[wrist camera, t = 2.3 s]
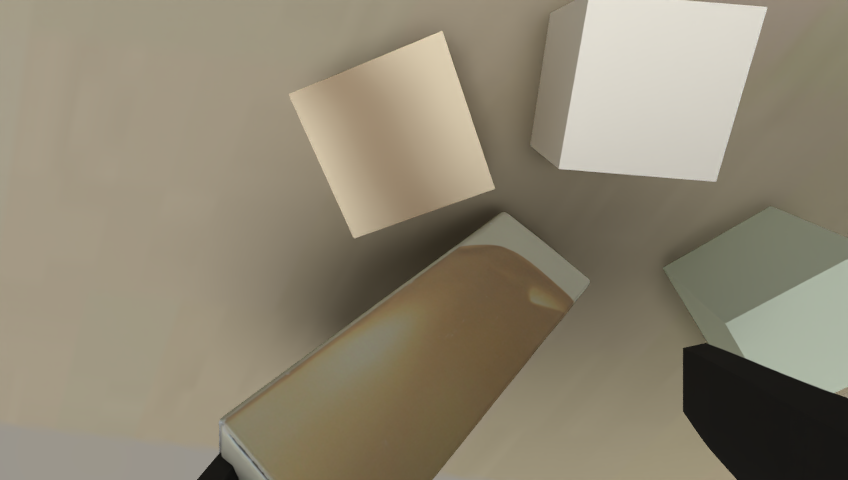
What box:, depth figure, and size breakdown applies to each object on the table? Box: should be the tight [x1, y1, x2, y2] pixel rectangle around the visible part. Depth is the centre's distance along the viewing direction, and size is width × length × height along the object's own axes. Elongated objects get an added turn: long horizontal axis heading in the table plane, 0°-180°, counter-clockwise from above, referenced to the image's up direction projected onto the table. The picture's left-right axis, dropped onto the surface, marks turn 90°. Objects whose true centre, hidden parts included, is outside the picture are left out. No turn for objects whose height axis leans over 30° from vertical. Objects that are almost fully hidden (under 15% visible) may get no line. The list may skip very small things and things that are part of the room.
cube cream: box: [530, 0, 767, 182], centre depth 16 cm, size 5×5×5 cm
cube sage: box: [663, 206, 848, 393], centre depth 19 cm, size 5×5×5 cm
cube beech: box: [289, 31, 495, 238], centre depth 17 cm, size 5×5×5 cm
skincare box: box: [219, 212, 590, 480], centre depth 15 cm, size 6×4×12 cm
